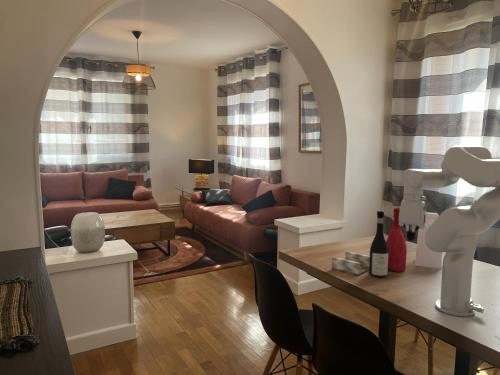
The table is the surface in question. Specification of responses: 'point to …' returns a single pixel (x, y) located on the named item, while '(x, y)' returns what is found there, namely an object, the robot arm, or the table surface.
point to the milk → (422, 251)
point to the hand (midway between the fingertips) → (410, 240)
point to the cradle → (351, 264)
